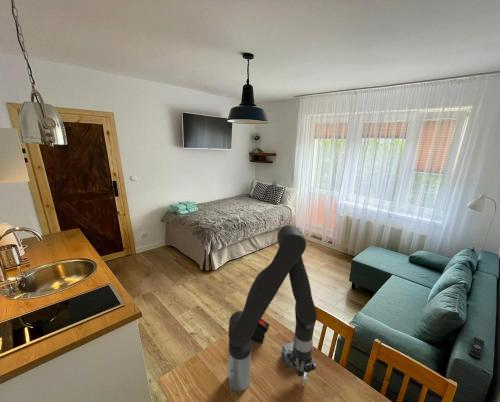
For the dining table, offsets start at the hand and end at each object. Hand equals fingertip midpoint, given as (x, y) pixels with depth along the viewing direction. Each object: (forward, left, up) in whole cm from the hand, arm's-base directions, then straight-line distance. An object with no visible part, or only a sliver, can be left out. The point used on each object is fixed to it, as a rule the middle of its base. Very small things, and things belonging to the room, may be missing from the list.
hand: (299, 374), depth 97 cm
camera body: (+2, +10, -3) cm, 10 cm away
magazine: (-13, +25, -3) cm, 28 cm away
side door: (+4, +1, -3) cm, 5 cm away
